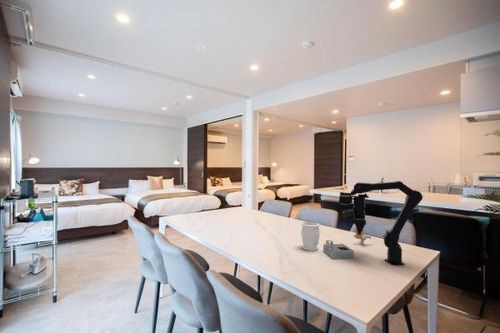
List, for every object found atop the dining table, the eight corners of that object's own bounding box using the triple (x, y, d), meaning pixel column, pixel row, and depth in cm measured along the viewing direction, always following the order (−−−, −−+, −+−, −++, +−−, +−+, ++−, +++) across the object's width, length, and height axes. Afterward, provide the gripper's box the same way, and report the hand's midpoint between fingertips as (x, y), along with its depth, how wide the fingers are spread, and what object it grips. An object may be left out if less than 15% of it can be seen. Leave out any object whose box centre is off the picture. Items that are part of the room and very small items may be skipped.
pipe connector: (373, 247, 146) (373, 231, 146) (355, 246, 148) (355, 230, 148) (368, 242, 156) (368, 227, 156) (352, 241, 158) (352, 226, 158)
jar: (306, 252, 137) (306, 226, 137) (298, 246, 147) (298, 222, 147) (322, 250, 139) (323, 225, 140) (313, 245, 149) (313, 221, 150)
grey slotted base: (354, 258, 128) (354, 246, 128) (332, 259, 127) (332, 246, 127) (343, 250, 140) (343, 239, 140) (323, 251, 139) (323, 240, 139)
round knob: (364, 239, 129) (364, 224, 129) (357, 239, 128) (357, 224, 128) (360, 237, 133) (360, 223, 133) (353, 237, 132) (353, 223, 132)
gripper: (344, 202, 142) (343, 228, 142) (342, 206, 125) (342, 236, 125) (364, 203, 138) (364, 230, 138) (366, 208, 121) (365, 239, 121)
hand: (359, 234), depth 131 cm, fingers closed on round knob, 3 cm apart
